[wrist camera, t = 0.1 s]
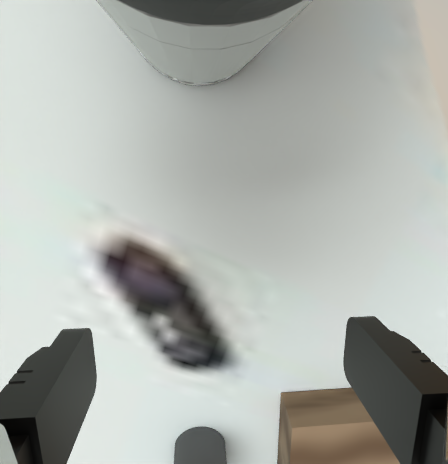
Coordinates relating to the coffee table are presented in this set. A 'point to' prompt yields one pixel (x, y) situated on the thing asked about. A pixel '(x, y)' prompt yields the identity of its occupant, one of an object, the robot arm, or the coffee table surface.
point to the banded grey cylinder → (200, 447)
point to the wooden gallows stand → (329, 430)
